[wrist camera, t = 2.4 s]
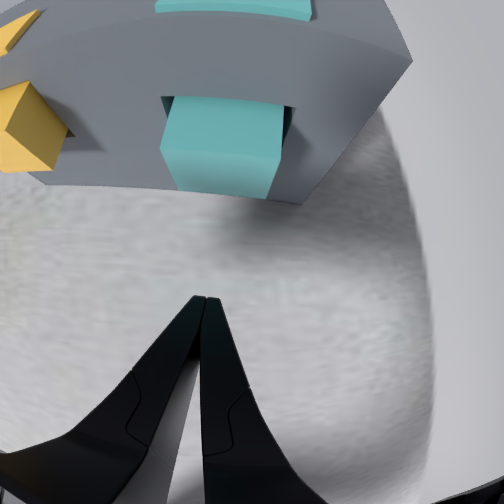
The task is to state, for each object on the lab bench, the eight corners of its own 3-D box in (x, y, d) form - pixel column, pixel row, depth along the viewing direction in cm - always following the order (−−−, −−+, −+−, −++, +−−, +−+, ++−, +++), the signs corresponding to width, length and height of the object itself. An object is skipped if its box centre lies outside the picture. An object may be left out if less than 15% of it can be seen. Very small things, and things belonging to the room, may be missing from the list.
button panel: (301, 204, 19) (417, 54, 5) (45, 184, 17) (-69, 97, 4) (304, 130, 20) (375, -23, 6) (68, 121, 18) (-10, 16, 5)
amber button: (53, 170, 10) (4, 130, 6) (4, 173, 10) (-40, 142, 6) (77, 107, 11) (44, 59, 7) (27, 116, 10) (-8, 79, 6)
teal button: (265, 199, 13) (280, 159, 9) (178, 190, 12) (159, 148, 8) (271, 133, 13) (285, 82, 9) (192, 126, 13) (182, 73, 9)
